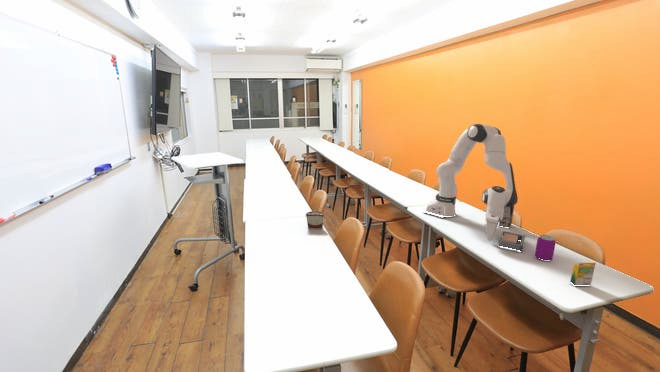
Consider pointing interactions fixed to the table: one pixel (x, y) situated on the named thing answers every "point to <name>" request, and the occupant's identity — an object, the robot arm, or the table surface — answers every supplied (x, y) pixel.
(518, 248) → the dock bay
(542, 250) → the beverage can
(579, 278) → the crayon box
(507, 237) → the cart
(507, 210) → the coffee box
